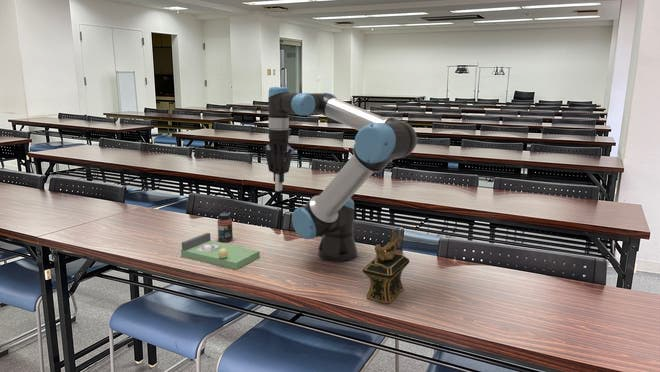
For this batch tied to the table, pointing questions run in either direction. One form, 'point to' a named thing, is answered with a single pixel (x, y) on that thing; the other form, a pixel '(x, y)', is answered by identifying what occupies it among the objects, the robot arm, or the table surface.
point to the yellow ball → (223, 253)
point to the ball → (207, 247)
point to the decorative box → (386, 272)
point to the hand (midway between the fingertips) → (278, 190)
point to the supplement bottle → (225, 228)
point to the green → (233, 260)
